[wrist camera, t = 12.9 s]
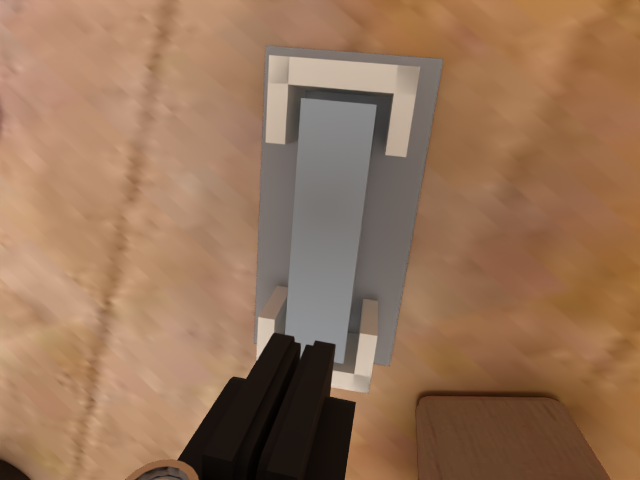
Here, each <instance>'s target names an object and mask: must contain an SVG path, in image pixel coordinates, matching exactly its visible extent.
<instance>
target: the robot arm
mask: <svg viewBox="0 0 640 480" xmlns="http://www.w3.org/2000/svg"><path fill="white" fill-rule="evenodd" d="M335 348H336V344H333V343H327V342H322V341H317V340H315V342H314V344H313V345H308V344H307V345H306V346H305V348H304V351H303V353H302V356H301V358H300V353H301V343H297V342H295V338H294V336H290V335H285V334H280V333H273V334H272V336H271V337H270V339H269V341H268V343H267V344H266V346H265V348H264V349H263V351H262V353H261V354H260V356H259V358H258V360H257V361H256V363H255V365H254V366H253V368H252V370H251V372H250V373H249V375H248V377H247V378H246V379H244V378H239V377H232V378H231V379H230V380H229V381H228V383H227V384H226V386H225V387H224V389H223V390H222V392H221V394H220V395H219V397H218V398H217V400H216V401H215V403H214V404H213V406H212V407H211V409H210V410H209V412H208V414H207V415H206V417H205V418H204V420H203V421H202V423H201V424H200V426H199V427H198V429H197V430H196V432H195V434H194V435H193V437H192V438H191V440H190V441H189V443H188V444H187V446H186V447H185V449H184V450H183V452H182V454H181V455H180V457H179V458H178V460H173V459H172V460H159V461H156V462H152V463H149V464H147V465H145V466H143V467H141V468H139V469H137V470H136V471H134V472H133V473H132V474H131V475H130V476H128V477H127V478H126V479H125V480H345V473H346V466H347V459H348V452H349V446H350V439H351V432H352V425H353V418H354V411H355V405H356V402H353V401H348V400H343V399H338V398H334V397H330V390H331V382H332V373H333V365H334V357H335Z"/></svg>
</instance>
